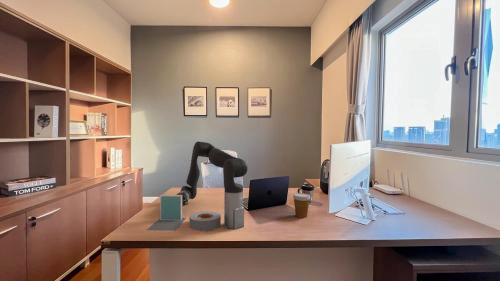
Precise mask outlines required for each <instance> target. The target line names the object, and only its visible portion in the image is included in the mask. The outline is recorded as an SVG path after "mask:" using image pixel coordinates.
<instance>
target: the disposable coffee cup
mask: <svg viewBox="0 0 500 281" xmlns="http://www.w3.org/2000/svg"><path fill="white" fill-rule="evenodd" d="M292 198H293V203H294V205H293V206H294V211H295V212H294V213H295V217H297V218H299V217H300V219H303V218H308V212H309V206H310V205H309V204H310V199H311V197H310V194H309V193H304V192H303V193H301V192H296V193H294V194H293V196H292Z"/></svg>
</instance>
